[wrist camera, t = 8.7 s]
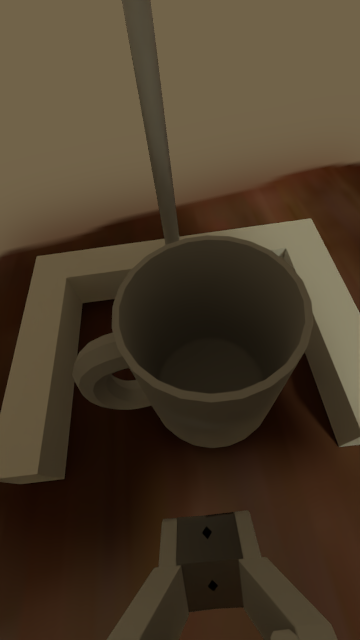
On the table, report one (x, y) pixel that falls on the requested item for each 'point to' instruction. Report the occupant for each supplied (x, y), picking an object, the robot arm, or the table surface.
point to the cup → (201, 338)
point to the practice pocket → (110, 271)
